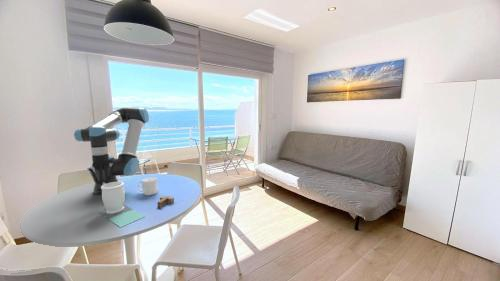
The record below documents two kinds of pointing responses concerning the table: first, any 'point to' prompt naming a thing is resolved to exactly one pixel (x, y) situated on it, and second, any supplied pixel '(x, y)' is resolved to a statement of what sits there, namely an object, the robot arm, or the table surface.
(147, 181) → the mug
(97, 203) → the table surface
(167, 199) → the t block
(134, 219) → the mat
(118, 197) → the jar
